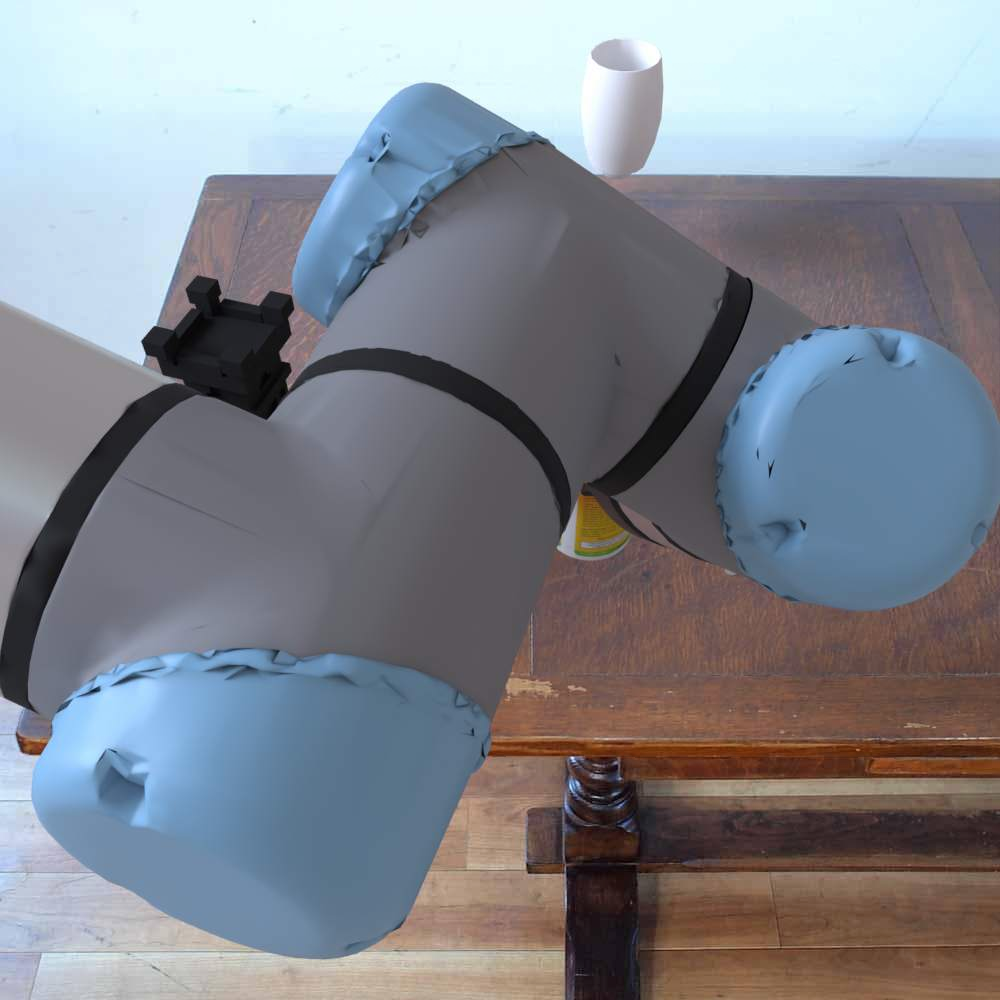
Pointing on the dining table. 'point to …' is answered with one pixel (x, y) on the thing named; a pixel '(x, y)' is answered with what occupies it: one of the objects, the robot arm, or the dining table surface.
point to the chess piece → (228, 347)
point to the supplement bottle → (591, 532)
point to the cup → (621, 105)
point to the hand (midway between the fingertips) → (576, 447)
